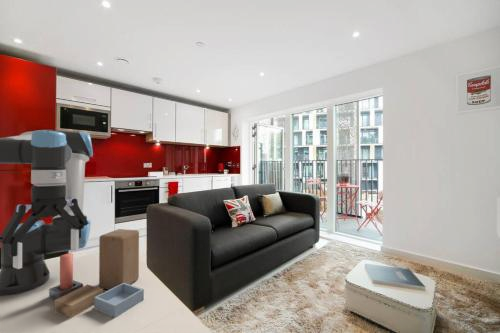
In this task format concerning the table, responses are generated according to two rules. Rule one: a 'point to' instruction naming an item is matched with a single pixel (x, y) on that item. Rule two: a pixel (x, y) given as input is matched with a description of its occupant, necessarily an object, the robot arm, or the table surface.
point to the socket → (57, 293)
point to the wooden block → (118, 258)
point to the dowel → (66, 271)
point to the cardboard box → (77, 301)
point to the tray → (118, 299)
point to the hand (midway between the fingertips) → (48, 258)
